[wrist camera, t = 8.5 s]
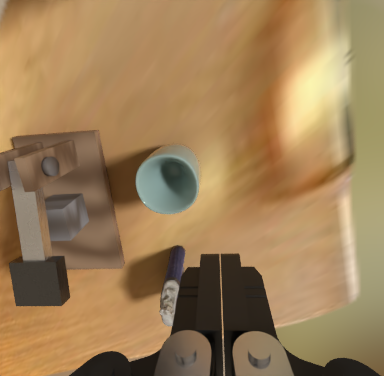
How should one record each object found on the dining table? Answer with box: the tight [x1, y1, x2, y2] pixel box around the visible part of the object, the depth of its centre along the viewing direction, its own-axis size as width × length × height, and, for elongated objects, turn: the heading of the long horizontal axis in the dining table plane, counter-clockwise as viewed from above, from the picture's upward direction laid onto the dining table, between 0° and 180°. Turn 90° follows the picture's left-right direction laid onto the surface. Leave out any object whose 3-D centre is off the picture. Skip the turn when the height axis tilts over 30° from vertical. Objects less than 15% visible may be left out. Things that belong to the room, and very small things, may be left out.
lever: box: [8, 161, 70, 306], centre depth 35 cm, size 19×6×2 cm, turn 4°
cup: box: [135, 144, 201, 214], centre depth 36 cm, size 8×8×10 cm
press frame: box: [0, 130, 125, 269], centre depth 39 cm, size 24×13×12 cm, turn 5°
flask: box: [159, 245, 185, 326], centre depth 43 cm, size 9×3×11 cm, turn 176°
